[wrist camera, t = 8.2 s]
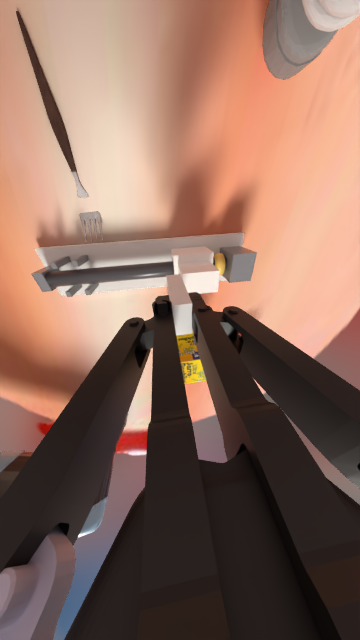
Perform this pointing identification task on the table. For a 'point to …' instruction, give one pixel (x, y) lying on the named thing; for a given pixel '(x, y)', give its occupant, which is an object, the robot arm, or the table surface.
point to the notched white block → (196, 269)
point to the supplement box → (190, 359)
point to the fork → (59, 129)
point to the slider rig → (135, 263)
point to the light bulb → (302, 31)
